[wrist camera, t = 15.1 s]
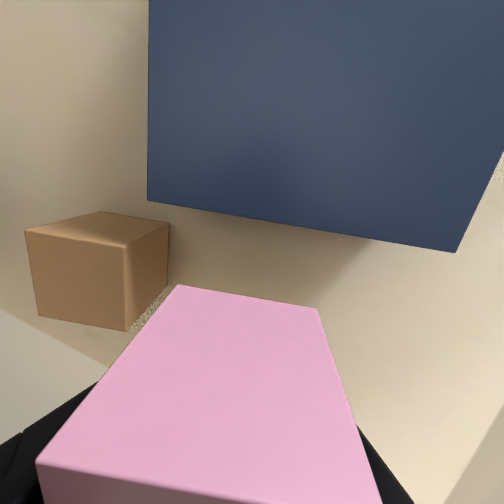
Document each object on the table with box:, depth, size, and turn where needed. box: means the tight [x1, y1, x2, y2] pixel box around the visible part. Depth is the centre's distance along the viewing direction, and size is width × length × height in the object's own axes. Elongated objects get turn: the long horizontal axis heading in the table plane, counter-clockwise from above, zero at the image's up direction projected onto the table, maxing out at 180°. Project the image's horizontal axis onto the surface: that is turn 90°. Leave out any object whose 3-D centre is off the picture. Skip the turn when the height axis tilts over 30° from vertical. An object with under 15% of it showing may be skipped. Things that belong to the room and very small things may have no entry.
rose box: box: [35, 284, 383, 504], centre depth 6 cm, size 5×5×5 cm
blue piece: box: [147, 0, 504, 253], centre depth 10 cm, size 13×14×5 cm
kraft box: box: [24, 211, 169, 331], centre depth 14 cm, size 5×5×5 cm
